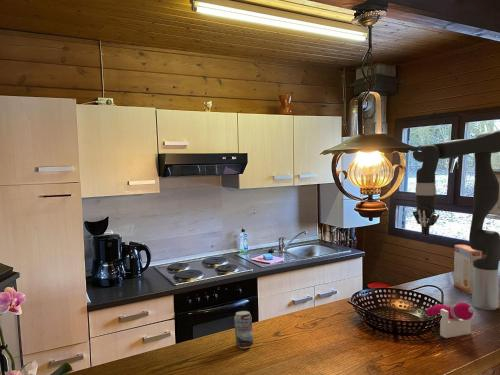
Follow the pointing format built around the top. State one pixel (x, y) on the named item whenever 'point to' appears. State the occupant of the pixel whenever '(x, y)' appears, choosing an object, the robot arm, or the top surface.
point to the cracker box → (464, 267)
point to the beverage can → (243, 329)
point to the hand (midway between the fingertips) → (425, 235)
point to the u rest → (453, 325)
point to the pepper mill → (453, 311)
